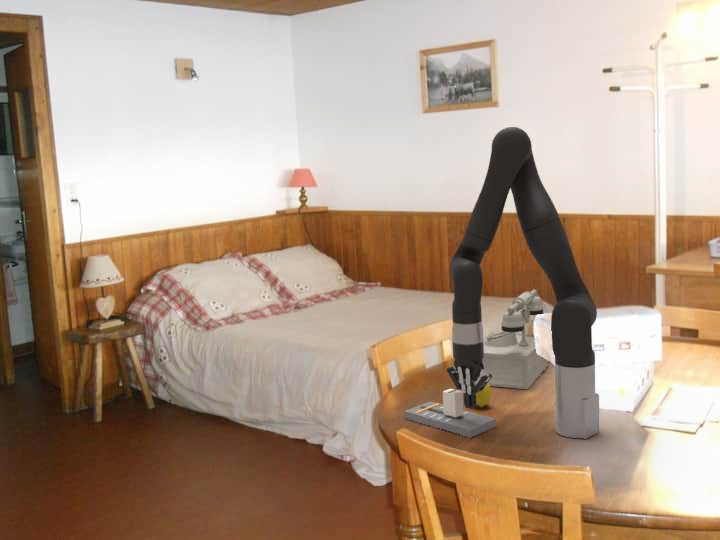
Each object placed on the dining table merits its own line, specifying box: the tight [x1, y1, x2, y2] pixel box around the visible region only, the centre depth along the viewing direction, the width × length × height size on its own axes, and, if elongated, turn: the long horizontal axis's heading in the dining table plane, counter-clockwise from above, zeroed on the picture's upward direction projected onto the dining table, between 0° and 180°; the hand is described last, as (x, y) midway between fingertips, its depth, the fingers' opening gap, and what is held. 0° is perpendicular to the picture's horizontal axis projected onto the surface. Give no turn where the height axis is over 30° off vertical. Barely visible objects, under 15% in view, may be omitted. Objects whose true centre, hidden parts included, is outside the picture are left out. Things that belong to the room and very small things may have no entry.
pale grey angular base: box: [479, 289, 549, 390], centre depth 245 cm, size 32×20×25 cm, turn 153°
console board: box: [404, 400, 497, 439], centre depth 209 cm, size 22×10×2 cm, turn 42°
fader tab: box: [442, 388, 464, 418], centre depth 207 cm, size 4×3×6 cm
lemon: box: [476, 379, 492, 408], centre depth 218 cm, size 6×6×8 cm
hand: (470, 407), depth 203 cm, fingers closed
